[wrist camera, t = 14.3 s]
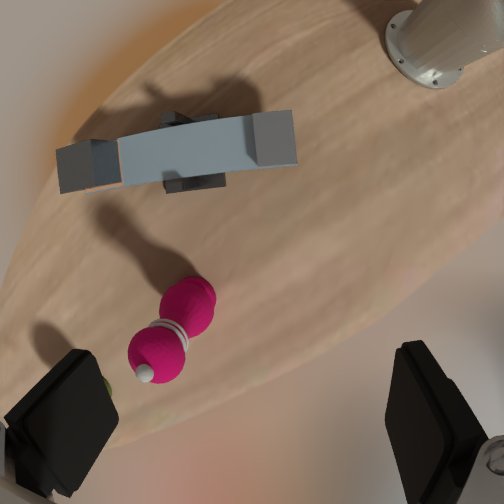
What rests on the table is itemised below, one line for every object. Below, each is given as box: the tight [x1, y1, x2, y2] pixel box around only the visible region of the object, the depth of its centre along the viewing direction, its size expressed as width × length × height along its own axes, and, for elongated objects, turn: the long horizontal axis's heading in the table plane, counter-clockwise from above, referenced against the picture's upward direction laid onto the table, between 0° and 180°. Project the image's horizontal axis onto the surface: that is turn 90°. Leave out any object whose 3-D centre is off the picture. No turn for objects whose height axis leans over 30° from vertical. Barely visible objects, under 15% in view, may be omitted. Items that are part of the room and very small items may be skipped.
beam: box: [85, 110, 297, 194], centre depth 34 cm, size 26×6×4 cm, turn 96°
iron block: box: [56, 139, 122, 194], centre depth 32 cm, size 5×5×6 cm
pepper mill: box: [128, 277, 216, 384], centre depth 36 cm, size 7×7×20 cm
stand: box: [159, 111, 226, 194], centre depth 37 cm, size 8×10×8 cm
